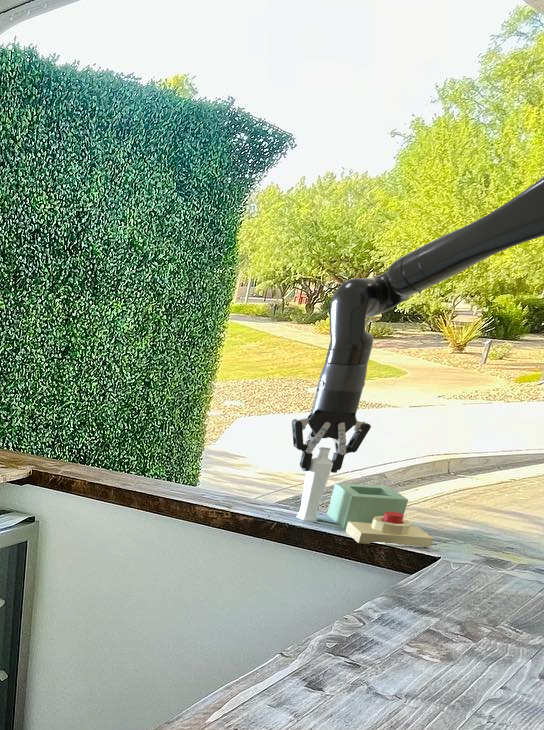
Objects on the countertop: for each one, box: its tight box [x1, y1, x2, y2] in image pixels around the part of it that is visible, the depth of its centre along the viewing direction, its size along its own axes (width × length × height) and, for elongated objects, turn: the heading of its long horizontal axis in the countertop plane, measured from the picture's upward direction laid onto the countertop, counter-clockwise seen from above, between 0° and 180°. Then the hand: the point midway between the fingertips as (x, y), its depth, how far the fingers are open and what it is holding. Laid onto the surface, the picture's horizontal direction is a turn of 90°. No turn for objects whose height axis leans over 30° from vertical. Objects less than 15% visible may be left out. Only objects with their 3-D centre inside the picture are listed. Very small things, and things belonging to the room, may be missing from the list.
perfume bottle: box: [296, 446, 333, 522], centre depth 158 cm, size 5×4×15 cm
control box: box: [345, 516, 434, 548], centre depth 148 cm, size 12×7×4 cm, turn 75°
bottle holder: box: [326, 482, 409, 530], centre depth 156 cm, size 10×10×7 cm
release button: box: [383, 512, 405, 524], centre depth 147 cm, size 3×3×2 cm
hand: (318, 470), depth 157 cm, fingers closed on perfume bottle, 4 cm apart
